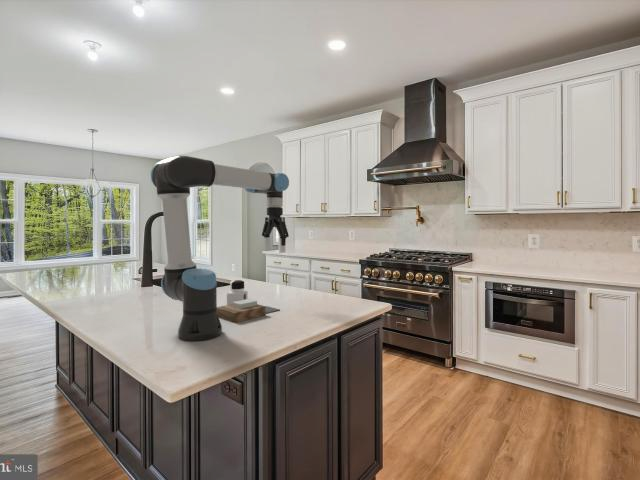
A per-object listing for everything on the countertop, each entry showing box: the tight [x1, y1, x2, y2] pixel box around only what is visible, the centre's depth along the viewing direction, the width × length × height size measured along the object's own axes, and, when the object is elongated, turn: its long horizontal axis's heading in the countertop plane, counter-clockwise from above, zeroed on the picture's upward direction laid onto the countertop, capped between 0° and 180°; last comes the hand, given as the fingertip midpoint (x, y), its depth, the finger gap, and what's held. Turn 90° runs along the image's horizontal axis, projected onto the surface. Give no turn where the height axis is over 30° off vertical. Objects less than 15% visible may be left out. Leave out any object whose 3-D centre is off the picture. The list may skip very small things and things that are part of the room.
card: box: [232, 298, 258, 309], centre depth 158 cm, size 9×6×2 cm, turn 137°
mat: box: [264, 305, 281, 314], centre depth 166 cm, size 10×10×1 cm
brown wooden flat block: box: [217, 303, 266, 324], centre depth 157 cm, size 16×14×4 cm
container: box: [226, 279, 249, 305], centre depth 171 cm, size 8×8×13 cm
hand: (274, 251), depth 172 cm, fingers open, 13 cm apart
